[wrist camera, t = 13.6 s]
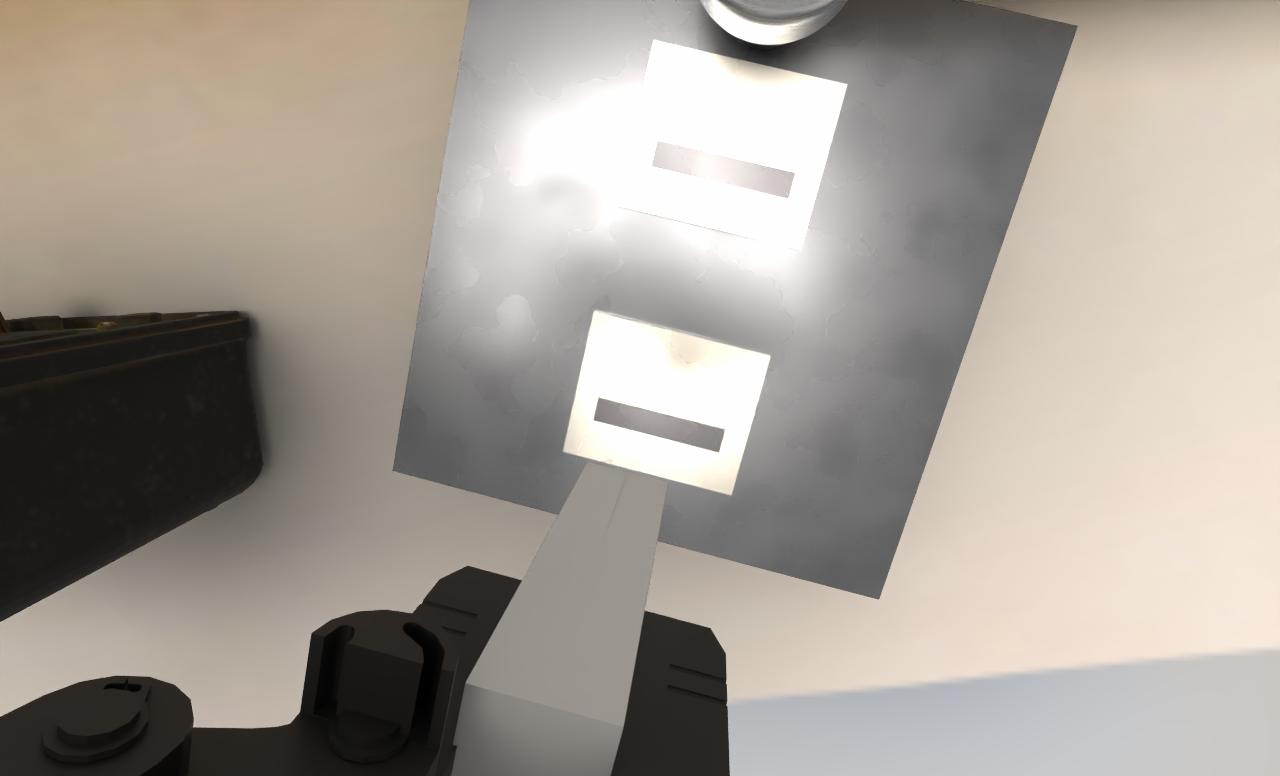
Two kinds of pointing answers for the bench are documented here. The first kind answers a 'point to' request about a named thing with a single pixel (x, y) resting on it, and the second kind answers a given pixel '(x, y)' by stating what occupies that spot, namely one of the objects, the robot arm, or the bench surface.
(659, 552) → the bench surface
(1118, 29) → the bench surface
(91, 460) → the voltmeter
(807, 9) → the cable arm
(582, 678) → the robot arm
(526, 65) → the grey slotted box
